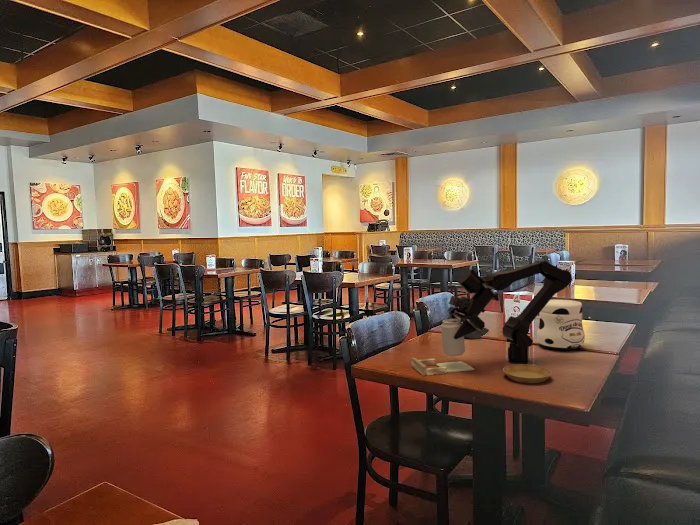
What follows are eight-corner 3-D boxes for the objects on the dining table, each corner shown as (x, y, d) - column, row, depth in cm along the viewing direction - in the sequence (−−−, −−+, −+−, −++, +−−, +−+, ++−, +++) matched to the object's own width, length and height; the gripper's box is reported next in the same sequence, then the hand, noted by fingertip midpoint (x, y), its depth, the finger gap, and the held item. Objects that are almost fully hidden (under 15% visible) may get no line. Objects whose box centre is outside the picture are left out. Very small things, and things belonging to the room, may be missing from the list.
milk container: (579, 355, 180) (579, 307, 179) (531, 349, 191) (531, 303, 190) (589, 345, 194) (589, 300, 193) (544, 340, 205) (544, 298, 203)
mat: (461, 362, 176) (461, 361, 176) (474, 369, 166) (474, 368, 166) (435, 364, 174) (435, 363, 174) (446, 372, 164) (446, 371, 164)
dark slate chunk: (447, 339, 214) (446, 328, 214) (457, 329, 234) (457, 319, 234) (482, 341, 208) (482, 330, 208) (490, 331, 228) (490, 321, 228)
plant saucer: (558, 377, 156) (558, 369, 156) (541, 389, 145) (541, 380, 145) (514, 369, 166) (514, 361, 166) (495, 380, 155) (494, 372, 155)
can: (465, 356, 165) (462, 321, 164) (443, 357, 167) (440, 323, 166) (464, 350, 172) (462, 317, 171) (443, 351, 174) (440, 318, 173)
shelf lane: (434, 364, 174) (433, 355, 174) (447, 373, 163) (447, 364, 163) (411, 366, 173) (411, 357, 173) (423, 375, 161) (423, 366, 161)
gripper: (451, 284, 178) (424, 316, 176) (475, 290, 159) (444, 326, 158) (472, 304, 180) (445, 336, 178) (497, 312, 162) (467, 347, 160)
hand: (450, 336), depth 169 cm, fingers closed on can, 7 cm apart
